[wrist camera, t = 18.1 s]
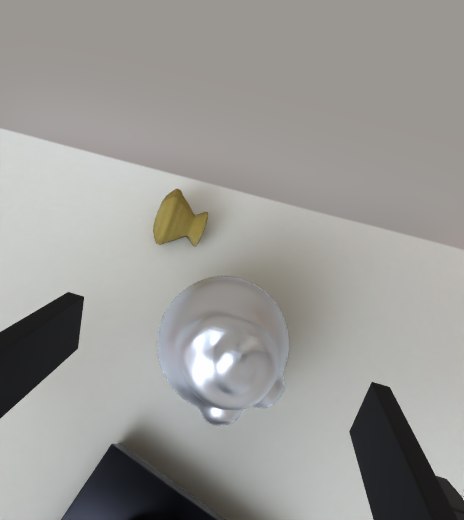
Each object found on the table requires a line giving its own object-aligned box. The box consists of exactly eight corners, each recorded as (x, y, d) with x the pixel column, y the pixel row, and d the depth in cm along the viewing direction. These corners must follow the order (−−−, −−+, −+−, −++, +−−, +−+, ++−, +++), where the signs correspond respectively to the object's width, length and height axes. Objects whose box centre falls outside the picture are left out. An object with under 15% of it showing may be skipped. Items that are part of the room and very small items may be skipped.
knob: (149, 252, 30) (140, 221, 25) (166, 208, 32) (160, 172, 28) (199, 263, 30) (199, 233, 25) (212, 218, 32) (213, 184, 28)
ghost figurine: (142, 402, 24) (108, 385, 15) (187, 289, 28) (181, 225, 20) (259, 442, 23) (295, 449, 15) (287, 321, 28) (327, 270, 19)
